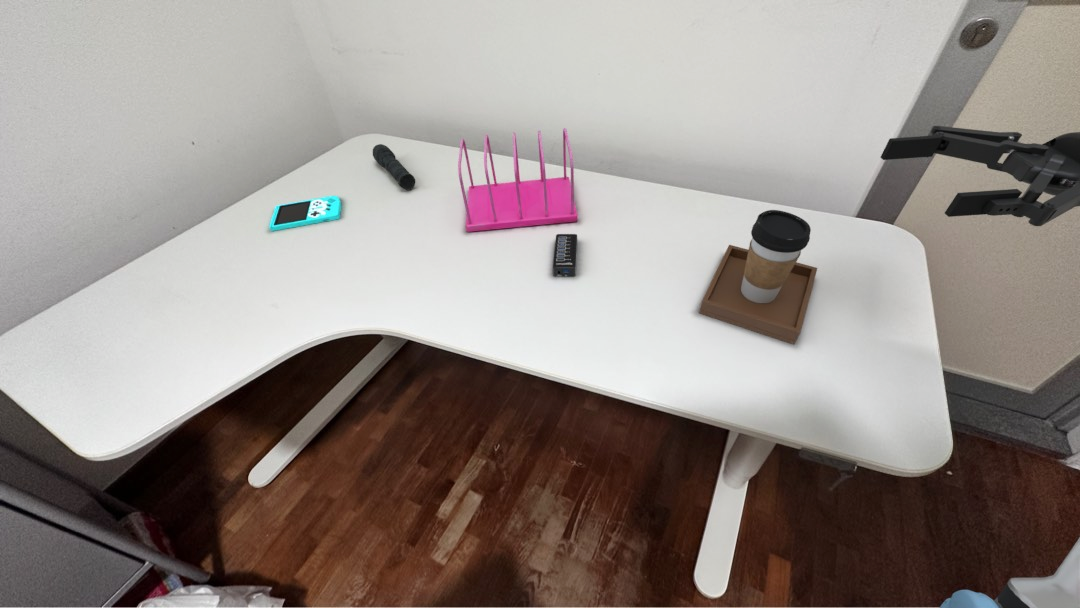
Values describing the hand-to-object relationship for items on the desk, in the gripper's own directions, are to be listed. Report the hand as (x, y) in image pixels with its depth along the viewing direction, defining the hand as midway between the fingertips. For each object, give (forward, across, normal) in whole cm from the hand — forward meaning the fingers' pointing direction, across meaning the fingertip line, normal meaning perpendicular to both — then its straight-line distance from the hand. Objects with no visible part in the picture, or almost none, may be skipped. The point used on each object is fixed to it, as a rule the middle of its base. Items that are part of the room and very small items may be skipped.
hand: (916, 174), depth 57 cm
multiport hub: (+43, +22, -28) cm, 56 cm away
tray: (+9, +8, -28) cm, 31 cm away
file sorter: (+53, +42, -28) cm, 73 cm away
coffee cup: (+9, +8, -27) cm, 30 cm away
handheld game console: (+105, +45, -28) cm, 118 cm away
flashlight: (+87, +62, -28) cm, 110 cm away
